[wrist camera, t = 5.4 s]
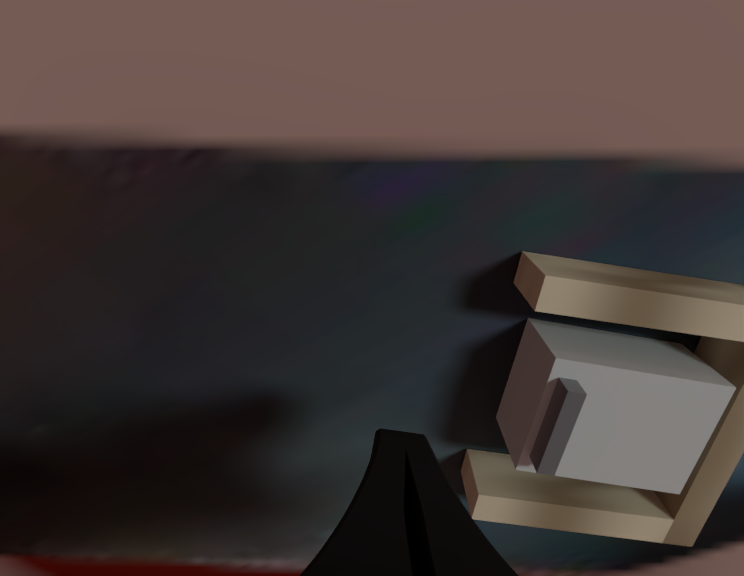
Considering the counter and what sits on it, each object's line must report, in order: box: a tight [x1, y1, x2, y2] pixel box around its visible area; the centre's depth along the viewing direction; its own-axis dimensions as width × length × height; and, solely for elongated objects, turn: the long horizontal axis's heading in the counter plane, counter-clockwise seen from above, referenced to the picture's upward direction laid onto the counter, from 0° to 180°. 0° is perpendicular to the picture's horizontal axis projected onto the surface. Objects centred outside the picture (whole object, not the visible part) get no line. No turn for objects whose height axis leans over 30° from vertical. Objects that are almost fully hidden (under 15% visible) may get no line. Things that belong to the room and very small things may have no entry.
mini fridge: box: [496, 318, 736, 494], centre depth 17 cm, size 6×4×4 cm
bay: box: [461, 251, 744, 547], centre depth 18 cm, size 9×10×2 cm
